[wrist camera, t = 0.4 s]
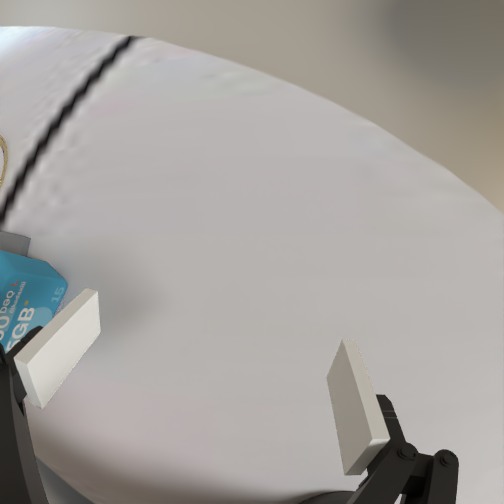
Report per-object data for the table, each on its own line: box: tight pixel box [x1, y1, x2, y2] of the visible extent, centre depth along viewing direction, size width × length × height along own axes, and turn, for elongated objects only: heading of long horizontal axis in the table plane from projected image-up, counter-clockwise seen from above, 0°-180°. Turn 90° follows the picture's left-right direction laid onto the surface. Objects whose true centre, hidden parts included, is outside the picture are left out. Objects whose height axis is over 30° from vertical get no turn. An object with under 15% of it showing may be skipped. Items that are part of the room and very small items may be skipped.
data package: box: [0, 250, 67, 353], centre depth 29 cm, size 12×4×12 cm, turn 148°
